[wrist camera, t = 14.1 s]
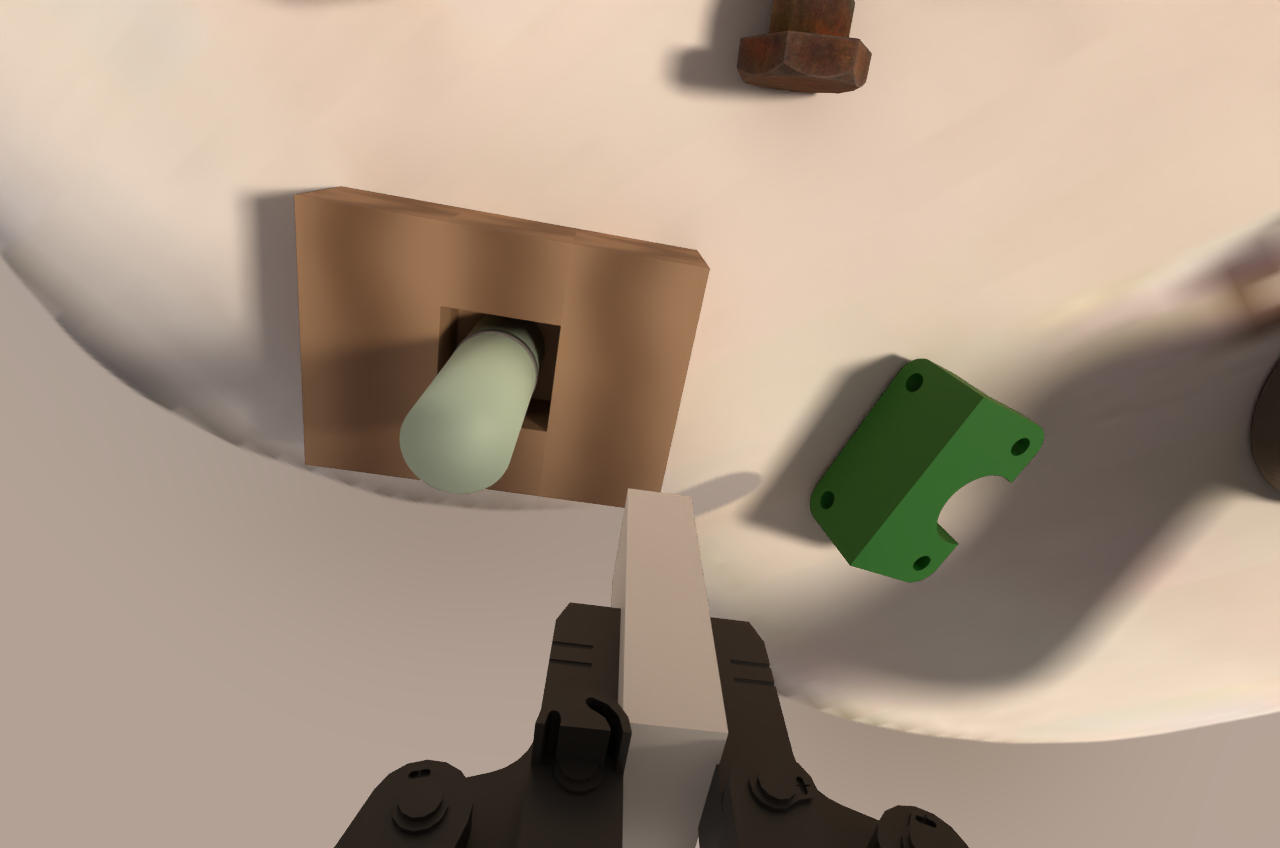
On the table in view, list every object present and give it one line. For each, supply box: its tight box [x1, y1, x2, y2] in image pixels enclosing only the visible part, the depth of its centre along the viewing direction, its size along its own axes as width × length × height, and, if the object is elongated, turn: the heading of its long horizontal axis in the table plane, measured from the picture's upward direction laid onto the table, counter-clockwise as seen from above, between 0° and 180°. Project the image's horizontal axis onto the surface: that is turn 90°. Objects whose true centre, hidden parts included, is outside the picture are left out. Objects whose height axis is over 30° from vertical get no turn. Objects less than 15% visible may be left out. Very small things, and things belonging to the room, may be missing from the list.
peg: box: [400, 314, 545, 494], centre depth 28 cm, size 4×4×12 cm
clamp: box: [810, 359, 1044, 582], centre depth 36 cm, size 12×6×9 cm, turn 145°
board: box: [294, 186, 710, 508], centre depth 33 cm, size 18×13×5 cm
